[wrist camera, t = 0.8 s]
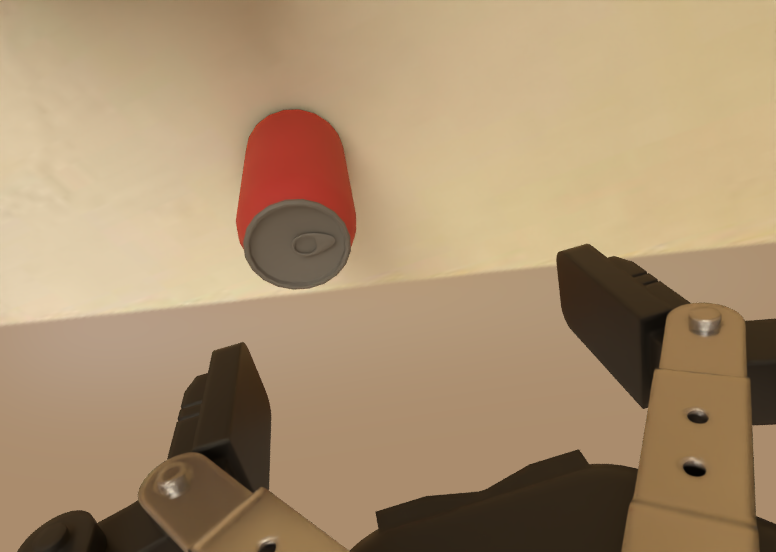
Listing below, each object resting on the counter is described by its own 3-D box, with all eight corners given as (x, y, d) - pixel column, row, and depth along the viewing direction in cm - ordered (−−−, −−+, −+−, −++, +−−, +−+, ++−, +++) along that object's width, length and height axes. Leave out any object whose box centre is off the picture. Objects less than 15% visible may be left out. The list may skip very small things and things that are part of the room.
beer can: (350, 185, 41) (369, 285, 32) (261, 202, 41) (252, 308, 31) (333, 97, 37) (349, 180, 28) (234, 115, 37) (215, 205, 27)
